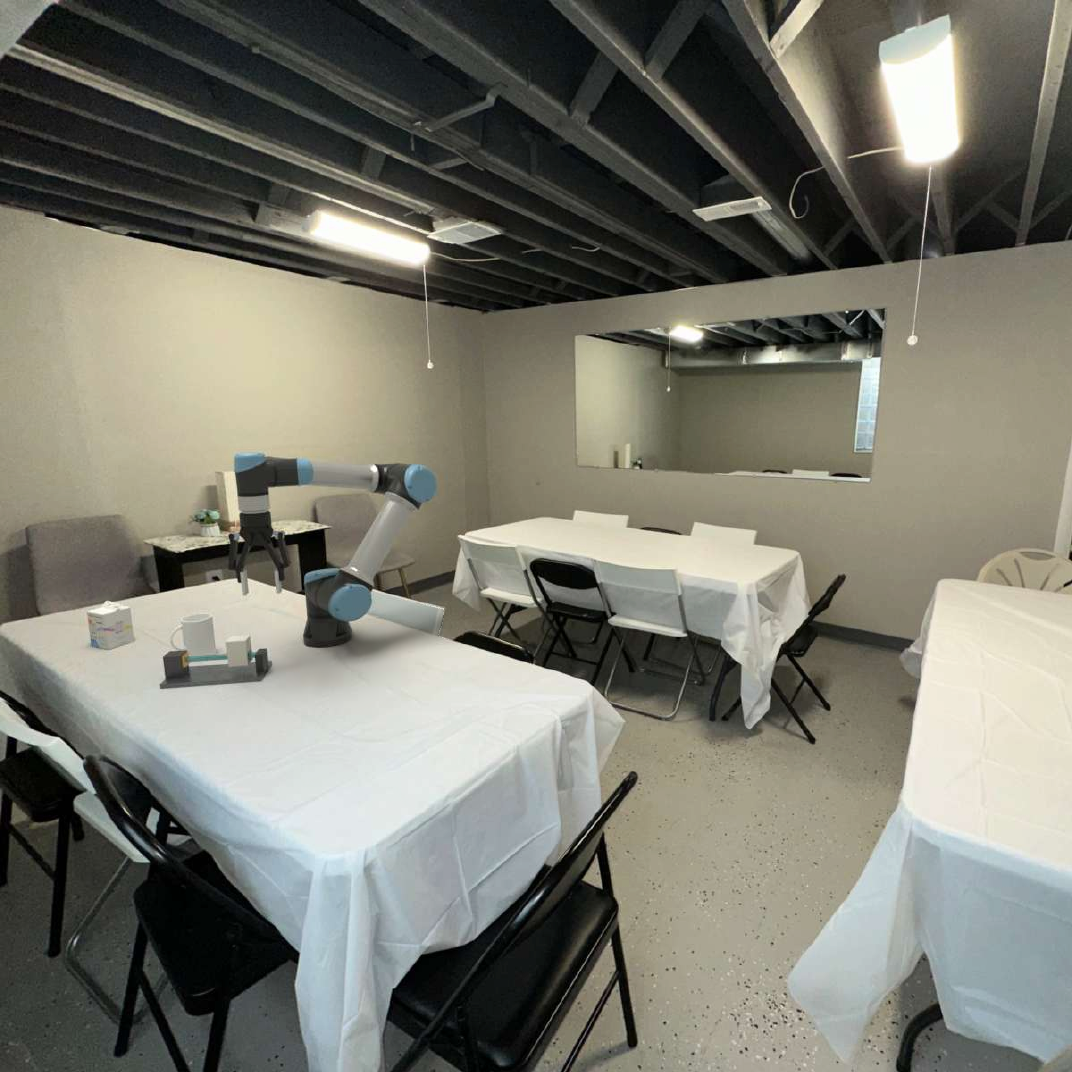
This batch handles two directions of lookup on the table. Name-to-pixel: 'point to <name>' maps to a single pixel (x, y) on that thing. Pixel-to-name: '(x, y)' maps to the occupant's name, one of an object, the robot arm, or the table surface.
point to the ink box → (110, 626)
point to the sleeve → (238, 650)
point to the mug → (197, 635)
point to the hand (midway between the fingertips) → (262, 593)
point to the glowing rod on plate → (211, 669)
